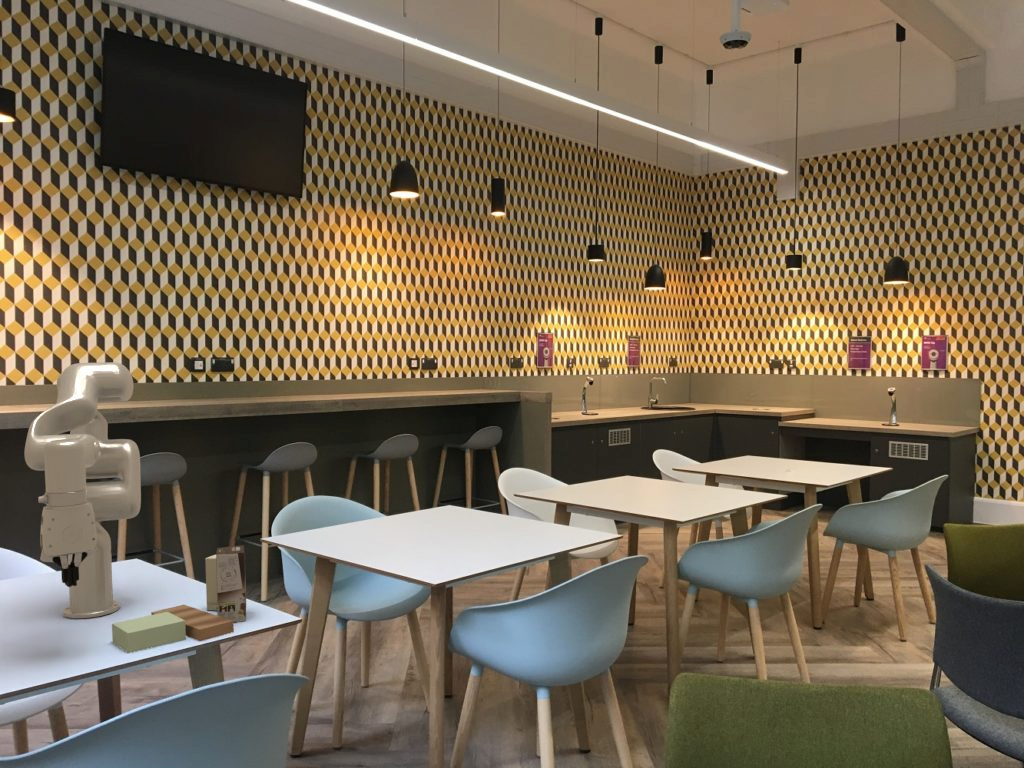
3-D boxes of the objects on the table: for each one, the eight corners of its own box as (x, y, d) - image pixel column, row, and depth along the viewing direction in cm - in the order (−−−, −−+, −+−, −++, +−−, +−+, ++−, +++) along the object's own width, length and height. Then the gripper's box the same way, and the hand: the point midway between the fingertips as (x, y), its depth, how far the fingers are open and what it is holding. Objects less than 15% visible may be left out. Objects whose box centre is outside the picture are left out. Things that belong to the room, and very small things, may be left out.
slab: (112, 644, 188) (111, 623, 188) (168, 631, 196) (167, 611, 196) (128, 654, 181) (128, 633, 181) (185, 641, 189) (185, 620, 189)
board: (151, 625, 202) (151, 612, 202) (184, 617, 208) (183, 604, 208) (200, 643, 188) (199, 629, 188) (233, 634, 194) (233, 620, 194)
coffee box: (246, 621, 202) (244, 552, 201) (217, 624, 200) (215, 554, 199) (247, 610, 210) (244, 544, 210) (219, 613, 209) (216, 546, 208)
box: (222, 611, 210) (220, 558, 210) (206, 610, 211) (204, 558, 211) (233, 605, 216) (232, 553, 215) (217, 604, 216) (215, 553, 216)
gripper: (30, 506, 173) (35, 597, 175) (110, 496, 183) (113, 581, 184) (22, 501, 179) (26, 588, 180) (99, 491, 189) (103, 574, 190)
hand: (70, 584), depth 182 cm, fingers closed
